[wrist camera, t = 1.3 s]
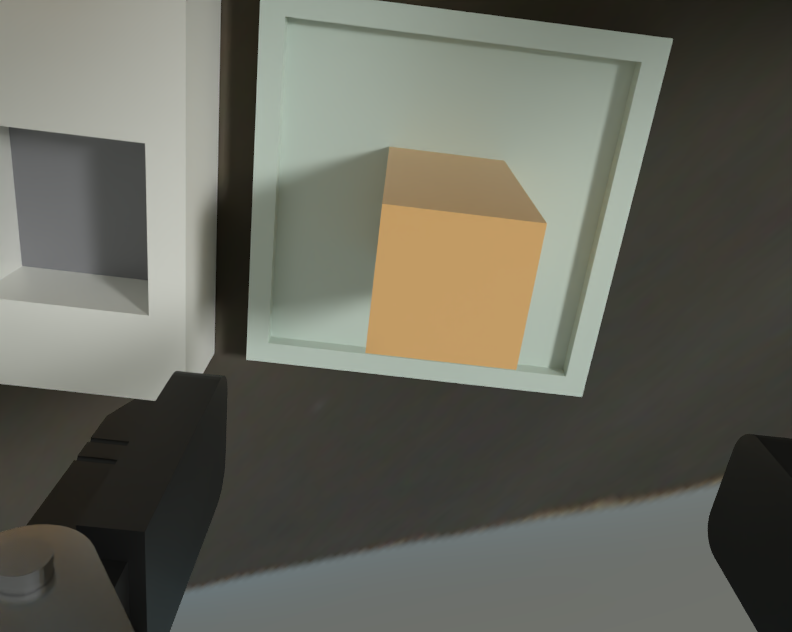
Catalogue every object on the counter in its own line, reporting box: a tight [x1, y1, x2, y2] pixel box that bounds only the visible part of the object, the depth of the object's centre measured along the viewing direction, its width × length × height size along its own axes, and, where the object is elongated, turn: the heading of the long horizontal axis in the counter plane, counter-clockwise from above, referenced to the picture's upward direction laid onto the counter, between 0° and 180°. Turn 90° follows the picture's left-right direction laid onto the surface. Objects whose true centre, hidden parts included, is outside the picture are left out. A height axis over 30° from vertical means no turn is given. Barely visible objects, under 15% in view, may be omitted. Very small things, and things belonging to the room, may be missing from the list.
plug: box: [365, 147, 547, 370], centre depth 21 cm, size 4×4×8 cm
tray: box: [246, 0, 673, 397], centre depth 25 cm, size 13×13×1 cm
